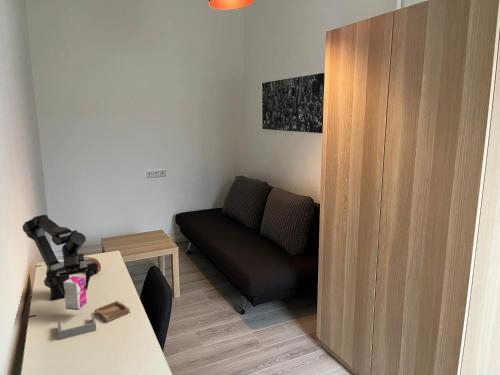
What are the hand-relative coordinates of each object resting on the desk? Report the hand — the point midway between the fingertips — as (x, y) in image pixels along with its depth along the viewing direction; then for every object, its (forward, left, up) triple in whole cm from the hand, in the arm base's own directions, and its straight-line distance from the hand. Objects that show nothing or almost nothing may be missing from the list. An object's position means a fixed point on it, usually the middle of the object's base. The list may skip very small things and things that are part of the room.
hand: (75, 292), depth 147 cm
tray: (+2, +13, -12) cm, 17 cm away
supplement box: (-1, 0, -7) cm, 7 cm away
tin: (-48, +7, -12) cm, 50 cm away
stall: (+7, -1, -12) cm, 14 cm away
